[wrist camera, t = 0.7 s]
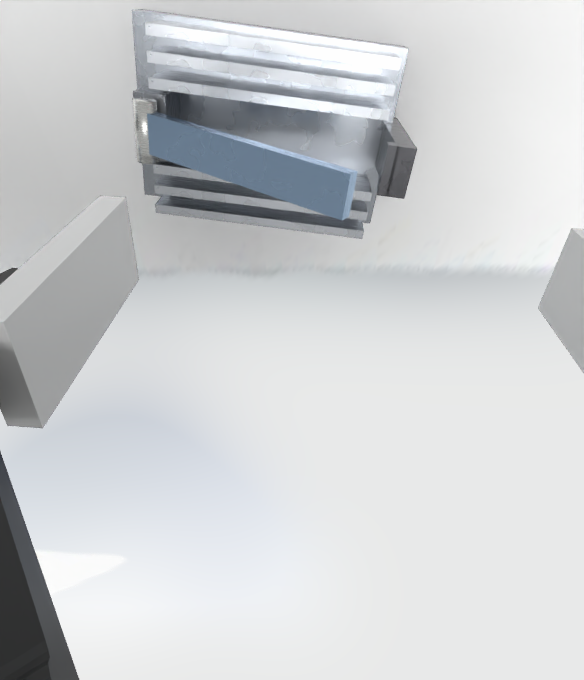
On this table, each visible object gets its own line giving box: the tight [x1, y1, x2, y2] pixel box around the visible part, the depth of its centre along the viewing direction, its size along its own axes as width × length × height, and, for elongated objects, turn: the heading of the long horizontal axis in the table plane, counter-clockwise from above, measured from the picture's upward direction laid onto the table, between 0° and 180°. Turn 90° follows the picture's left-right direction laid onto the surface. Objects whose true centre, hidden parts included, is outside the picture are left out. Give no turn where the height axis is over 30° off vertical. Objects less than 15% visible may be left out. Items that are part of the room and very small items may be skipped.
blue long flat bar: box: [132, 98, 358, 220], centre depth 27 cm, size 15×4×1 cm, turn 82°
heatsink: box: [132, 9, 417, 239], centre depth 32 cm, size 19×12×9 cm, turn 83°
